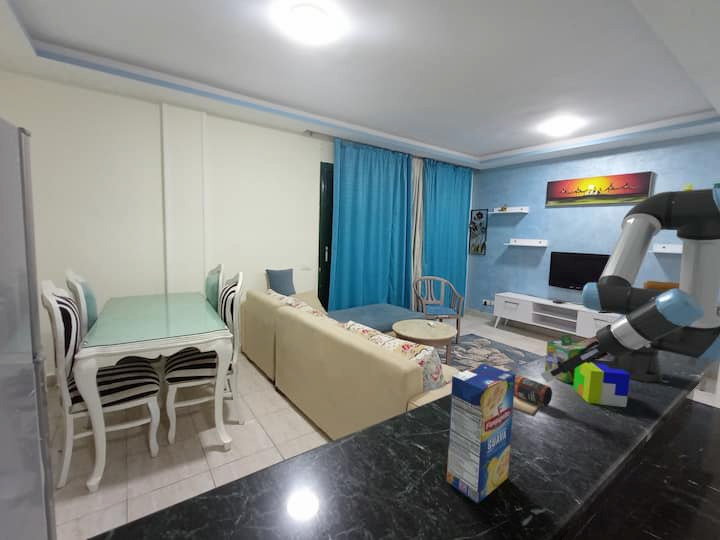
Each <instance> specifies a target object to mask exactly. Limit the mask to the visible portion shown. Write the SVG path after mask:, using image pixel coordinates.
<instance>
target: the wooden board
mask: <svg viewBox="0 0 720 540" xmlns="http://www.w3.org/2000/svg"><path fill="white" fill-rule="evenodd" d="M540 406H541V405H538V404H536V403H533V402H531V401H529V400H526V399H524V398H521V397H519V396H516V395H515V394H514V401H513V410H515V411H519V412H521V413H524V414H527V415H528V416H529V415H530V416H533V415H534V413H535V412H537V410H538V409H539V407H540Z"/></svg>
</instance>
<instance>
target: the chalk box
mask: <svg viewBox="0 0 720 540" xmlns="http://www.w3.org/2000/svg"><path fill="white" fill-rule="evenodd" d="M566 339H568V340H566ZM586 347H587V346H586ZM586 347H585V346H582V345H581V344H578V343H576V342H573V341H572V336H571V334H570V333H569V334H562V335H561V336H560V340H555V341H547V343H546V354H545V357H546V358H545V367H544V372H545V371H547V370H549V369H551V368H553V367H554V366H556V365H558V364H557V362H558V361H560V362H561V363H563V362H564V361H566V360H568V359H570V358H572V357H574V356H575V355H577V354H579V351H581V350H582V349H584V348H586ZM572 370H573V371H574V372H573V373H570V372H569V371H568V372H567V373H566V374H563V375H561V376H559V377H557V378H556V379H558V380H560V381H562V382H564V383H566V384H569V383H574V375H575V368H574V369H572Z"/></svg>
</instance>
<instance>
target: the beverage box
mask: <svg viewBox="0 0 720 540" xmlns="http://www.w3.org/2000/svg"><path fill="white" fill-rule="evenodd" d="M515 378H516V374H515V373H513V372H510V371H507V370H503V369H500V368H497V367H495V366H493V365H490V364H488V363H487V364H486V363H482V364H479V365H476V366H473V367H472V368H471V367H470V368H469V369H467V370H464V371H462V372H459V373H457V374H455V375H452V377H451V393H450V413H449V414H450V415H449V434H448V435H449V436H448V449H447V451H448V453H447V454H448V455H447V469H446V471H447V473H446V482H447V483H448V484H450V485H451V486H452V487H454V488H455V489H456V490H458V491H459V492H460V493H462V494H463V495H465V496H466V497H467V498H469V499H470V500H471V501H473V502H474V503H475V504H477V505H478V504H480V502H482V501H483V500H484V499H485V498H486V497H487V496H488V495H490V494H491V493H492V492H493V491H494V490H496V489H497V488H498V487H499V486H500V485H501V484H502V483H504V482H505V481H506V480H507V479H508V477H509V464H510V453H511V440H512V426H513V411H514V409H513V401H514V388H515Z"/></svg>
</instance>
